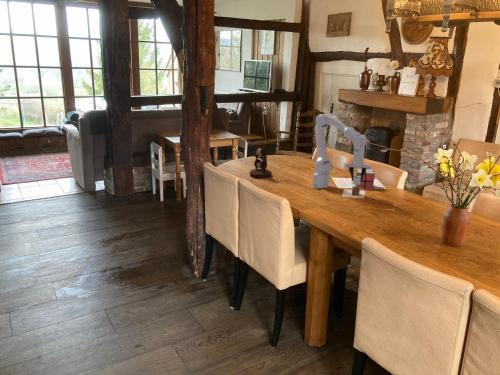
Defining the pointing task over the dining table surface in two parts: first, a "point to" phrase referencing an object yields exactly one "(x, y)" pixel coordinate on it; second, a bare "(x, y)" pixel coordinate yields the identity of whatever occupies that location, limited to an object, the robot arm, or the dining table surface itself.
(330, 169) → the robot arm
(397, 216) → the dining table surface
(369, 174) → the puzzle cube
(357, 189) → the walnut block
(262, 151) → the dark brown figurine
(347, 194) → the board
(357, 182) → the gray block
